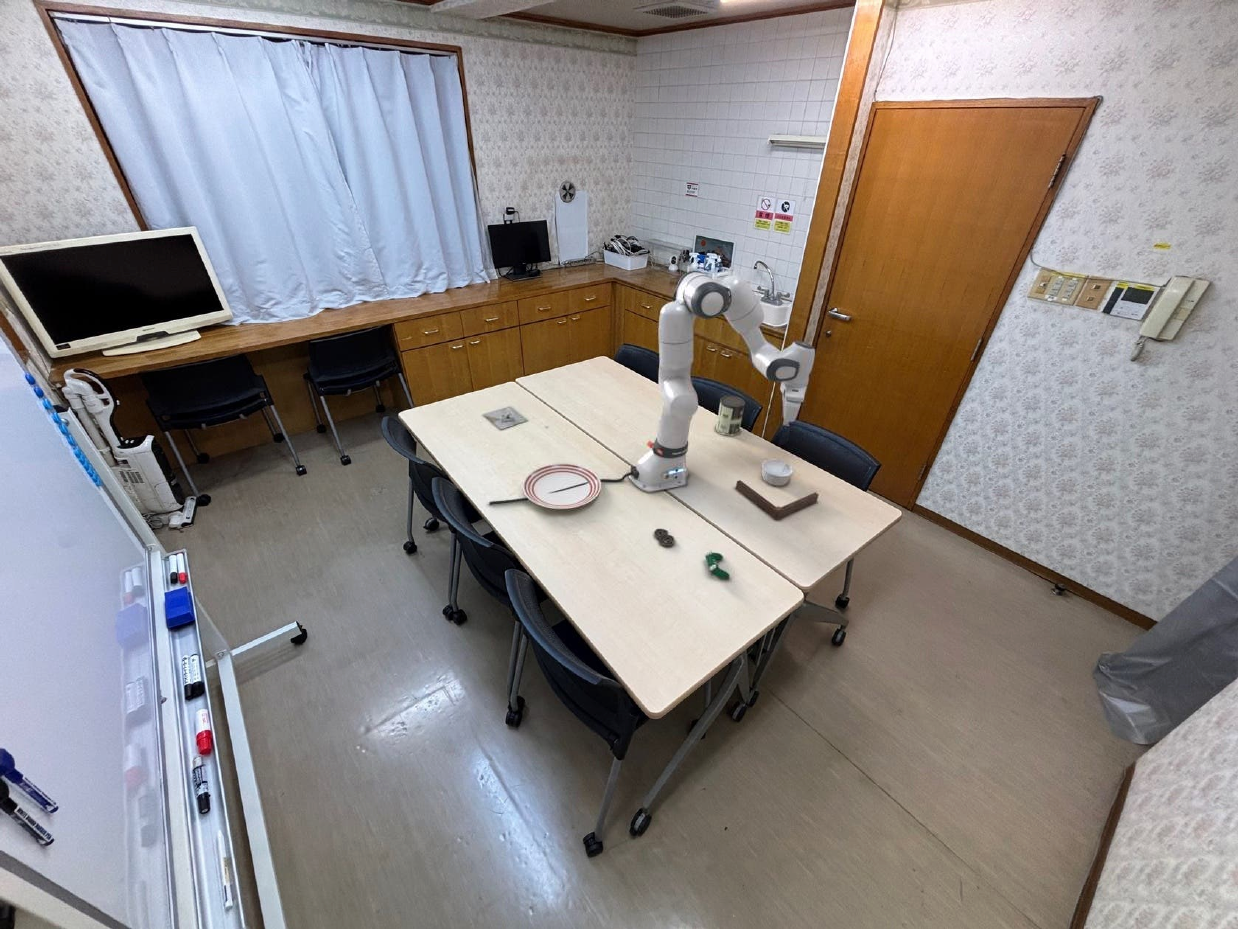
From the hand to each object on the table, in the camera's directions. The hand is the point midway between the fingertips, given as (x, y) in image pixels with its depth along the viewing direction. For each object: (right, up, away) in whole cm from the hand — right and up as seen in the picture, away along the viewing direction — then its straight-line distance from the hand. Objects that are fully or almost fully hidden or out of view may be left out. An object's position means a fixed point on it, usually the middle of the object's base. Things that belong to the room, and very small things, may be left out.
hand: (784, 420), depth 185 cm
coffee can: (-15, -1, +31) cm, 35 cm away
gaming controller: (-33, -47, -38) cm, 69 cm away
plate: (-82, -26, -9) cm, 86 cm away
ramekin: (-3, -22, +2) cm, 22 cm away
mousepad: (-107, +2, +31) cm, 112 cm away
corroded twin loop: (-48, -40, -28) cm, 68 cm away
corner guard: (-6, -27, -7) cm, 29 cm away
